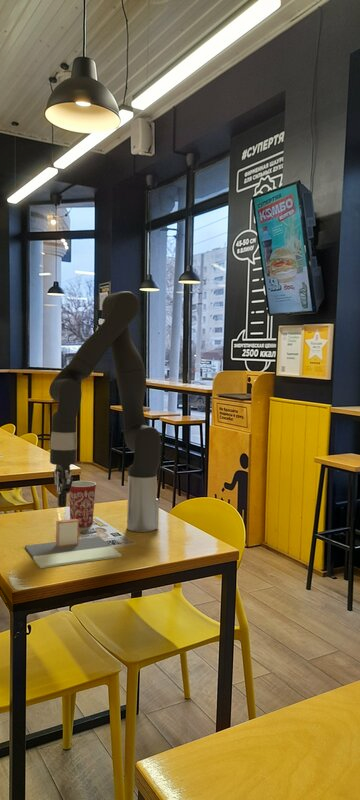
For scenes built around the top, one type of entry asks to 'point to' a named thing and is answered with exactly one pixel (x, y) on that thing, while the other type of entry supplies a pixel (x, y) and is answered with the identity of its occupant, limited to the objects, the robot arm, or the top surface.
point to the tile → (67, 532)
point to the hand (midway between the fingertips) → (61, 506)
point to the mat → (71, 552)
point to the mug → (82, 502)
